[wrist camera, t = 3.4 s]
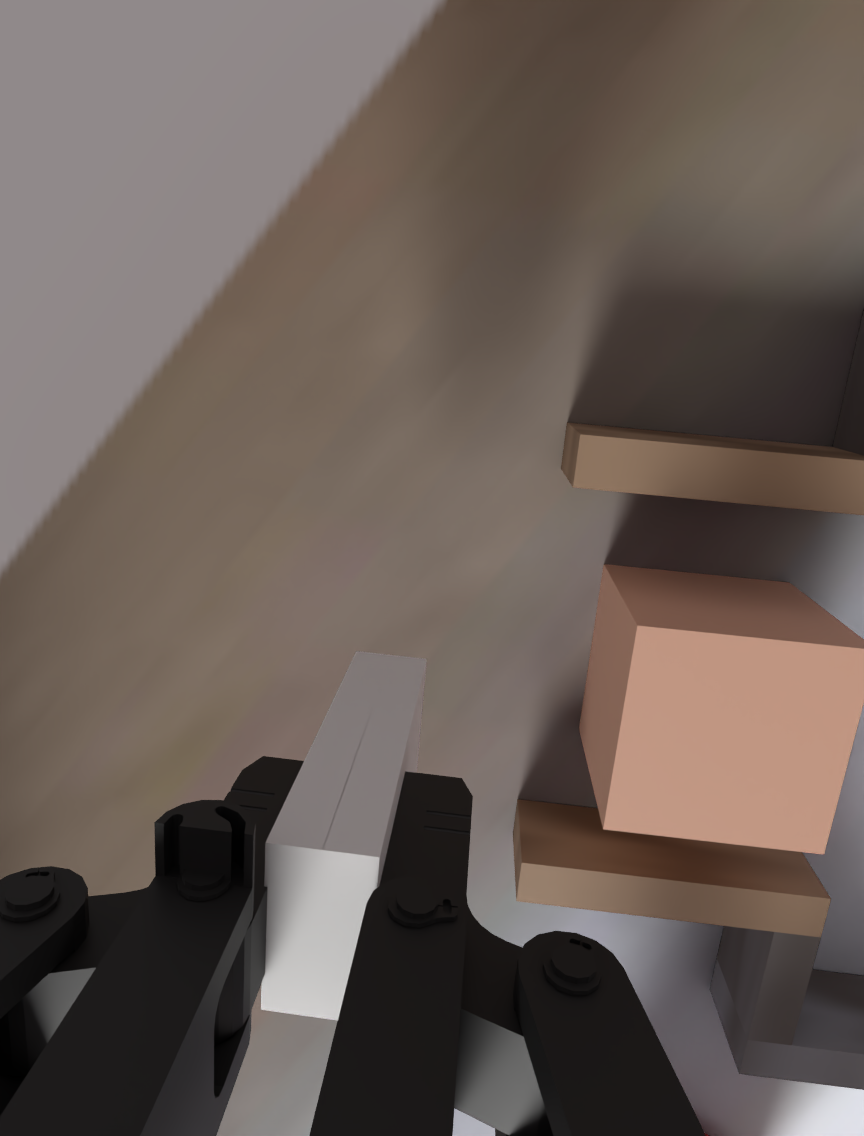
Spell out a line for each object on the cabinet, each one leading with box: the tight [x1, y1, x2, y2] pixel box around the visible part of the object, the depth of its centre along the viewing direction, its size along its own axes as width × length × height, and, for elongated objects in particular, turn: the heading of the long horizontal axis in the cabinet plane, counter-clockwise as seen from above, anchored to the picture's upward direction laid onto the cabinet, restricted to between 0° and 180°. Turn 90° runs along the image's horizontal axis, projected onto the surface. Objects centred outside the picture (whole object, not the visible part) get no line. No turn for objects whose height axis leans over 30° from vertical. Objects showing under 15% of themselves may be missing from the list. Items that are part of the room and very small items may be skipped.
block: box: [579, 564, 864, 855], centre depth 19 cm, size 5×5×5 cm
